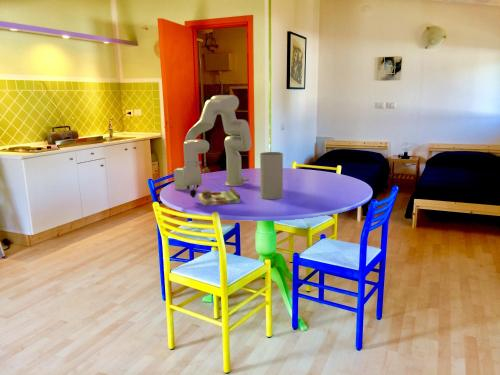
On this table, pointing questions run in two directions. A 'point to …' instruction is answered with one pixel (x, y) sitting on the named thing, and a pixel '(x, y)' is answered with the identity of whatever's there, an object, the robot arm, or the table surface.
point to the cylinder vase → (271, 175)
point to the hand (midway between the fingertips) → (193, 196)
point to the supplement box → (179, 179)
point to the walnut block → (206, 194)
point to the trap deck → (221, 198)
